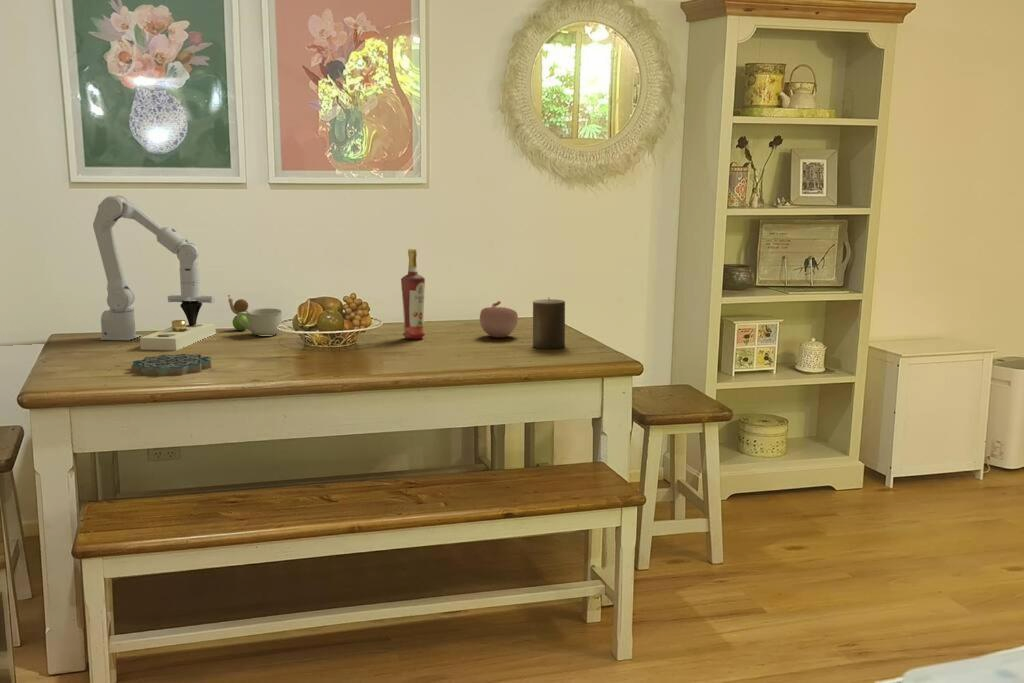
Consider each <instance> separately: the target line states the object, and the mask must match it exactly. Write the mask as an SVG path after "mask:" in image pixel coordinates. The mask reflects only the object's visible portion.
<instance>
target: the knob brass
mask: <svg viewBox="0 0 1024 683" xmlns="http://www.w3.org/2000/svg"><path fill="white" fill-rule="evenodd" d="M186 322H187V321H186V320H185V319H175V320H171V327H172V331H174V332H181V331H186Z"/></svg>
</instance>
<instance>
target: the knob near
mask: <svg viewBox="0 0 1024 683" xmlns="http://www.w3.org/2000/svg"><path fill="white" fill-rule="evenodd" d="M171 336H172V334H160V335H158V337H171Z"/></svg>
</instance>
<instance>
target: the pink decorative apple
mask: <svg viewBox="0 0 1024 683" xmlns="http://www.w3.org/2000/svg"><path fill="white" fill-rule="evenodd" d="M501 303H502V302H501V300H498V301H497V302H494V303H492V304H491V306H489V307H484V308H482V309H481V310H480V313H479V314H480V315H479V323H480V326H481V328H482V330H483V332H484V333H485V334H487V335H489V336H491V337H493V338H497V339H498V338H499V339H500V338H501V339H502V338H505V337H507V336H510V335H511V334H512V333H513V332H515V330H516V328H517V326H518V320H519V316H518V315H519V314H518V313H517V311H516V310H515V309H512V308H509V307H505V306H499V305H501Z"/></svg>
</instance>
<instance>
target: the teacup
mask: <svg viewBox="0 0 1024 683" xmlns="http://www.w3.org/2000/svg"><path fill="white" fill-rule="evenodd" d="M241 315H245V316H246V317H247V320H248V324H245V323H244V322H242V321H241V319H240V317H241ZM237 320H238V322H239V323H240V324H241V325H243V326H245V327H246V328H247V329H246V330H248V331H250V332H251V333H252V335H254V336H256V335H274V334H276V335H277V334H278V333H280V331H281V330H279V329H277V326H278V325H279V324H281V323H282V324H283V310H282V309H280V308H272V307H267V308H266V307H265V308H264V307H263V308H254V309H253V308H252V309H251V310H250V309H249V310H248V312H247V313H246V312H240V313H239V314H238V316H237ZM274 336H275V335H274Z"/></svg>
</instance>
